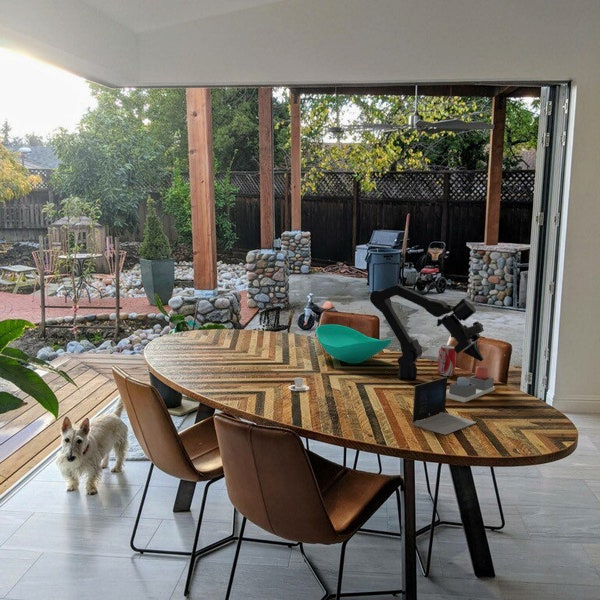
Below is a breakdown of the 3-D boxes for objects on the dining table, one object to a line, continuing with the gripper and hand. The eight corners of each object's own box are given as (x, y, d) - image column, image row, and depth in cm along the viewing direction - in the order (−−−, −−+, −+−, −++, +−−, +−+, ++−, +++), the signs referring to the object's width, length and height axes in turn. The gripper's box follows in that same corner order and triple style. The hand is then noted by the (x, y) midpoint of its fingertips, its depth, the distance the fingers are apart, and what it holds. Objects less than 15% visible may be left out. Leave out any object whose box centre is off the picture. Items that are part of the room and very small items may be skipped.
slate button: (454, 392, 236) (455, 378, 235) (460, 390, 239) (461, 376, 238) (465, 395, 233) (466, 381, 232) (470, 392, 236) (471, 379, 236)
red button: (472, 380, 246) (473, 367, 245) (478, 378, 249) (479, 365, 248) (483, 383, 243) (484, 369, 242) (488, 381, 246) (489, 367, 246)
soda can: (454, 377, 264) (457, 349, 262) (437, 376, 266) (439, 347, 264) (454, 373, 271) (456, 345, 269) (437, 372, 272) (439, 344, 271)
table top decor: (406, 367, 278) (408, 337, 276) (358, 375, 261) (360, 343, 260) (346, 349, 309) (347, 322, 307) (299, 355, 293) (300, 327, 291)
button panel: (439, 396, 237) (440, 383, 236) (470, 384, 255) (471, 372, 254) (464, 402, 230) (465, 388, 230) (494, 390, 248) (495, 377, 247)
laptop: (445, 436, 196) (448, 394, 194) (411, 425, 205) (414, 385, 203) (476, 424, 208) (480, 385, 206) (443, 414, 217) (446, 376, 215)
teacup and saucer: (304, 393, 235) (304, 382, 235) (283, 390, 238) (284, 380, 237) (312, 387, 243) (312, 377, 243) (292, 385, 246) (292, 374, 245)
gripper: (465, 318, 237) (493, 352, 233) (477, 312, 253) (504, 343, 249) (442, 336, 242) (469, 370, 238) (456, 329, 258) (481, 360, 254)
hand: (482, 360), depth 245 cm, fingers closed
